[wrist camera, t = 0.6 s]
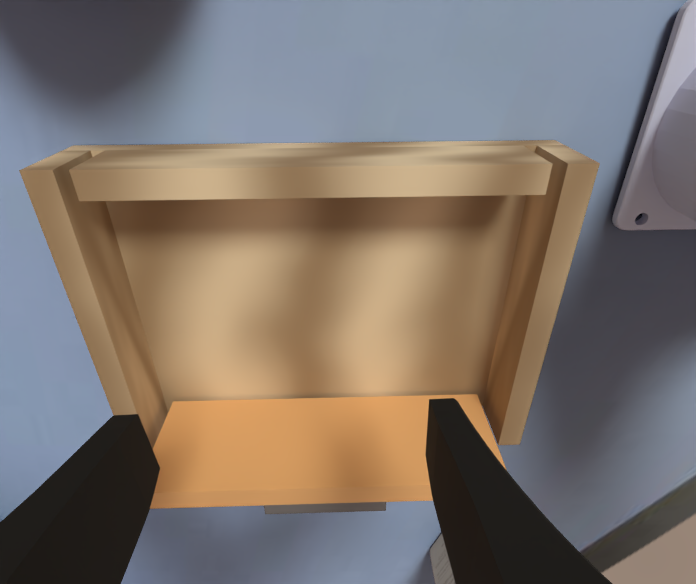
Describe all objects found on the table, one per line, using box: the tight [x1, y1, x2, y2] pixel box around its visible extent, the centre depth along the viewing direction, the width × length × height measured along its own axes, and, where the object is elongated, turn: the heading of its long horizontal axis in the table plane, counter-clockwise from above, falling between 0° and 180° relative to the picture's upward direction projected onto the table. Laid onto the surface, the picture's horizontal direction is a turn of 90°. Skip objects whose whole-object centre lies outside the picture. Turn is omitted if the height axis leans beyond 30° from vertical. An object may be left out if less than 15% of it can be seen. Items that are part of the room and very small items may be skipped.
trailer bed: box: [19, 140, 600, 449], centre depth 19 cm, size 18×13×3 cm
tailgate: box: [150, 394, 506, 514], centre depth 20 cm, size 15×2×5 cm, turn 90°
